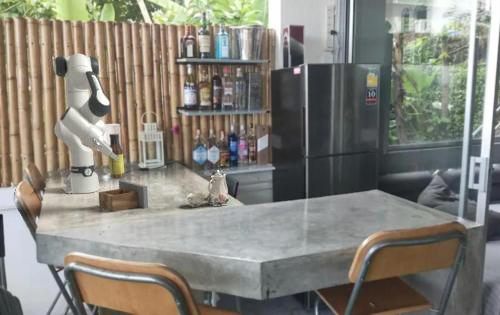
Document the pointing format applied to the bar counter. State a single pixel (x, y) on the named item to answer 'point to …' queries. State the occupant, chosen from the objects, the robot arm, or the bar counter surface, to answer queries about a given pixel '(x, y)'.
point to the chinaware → (212, 192)
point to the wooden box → (118, 199)
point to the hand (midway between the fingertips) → (117, 158)
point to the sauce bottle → (118, 165)
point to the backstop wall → (140, 191)
